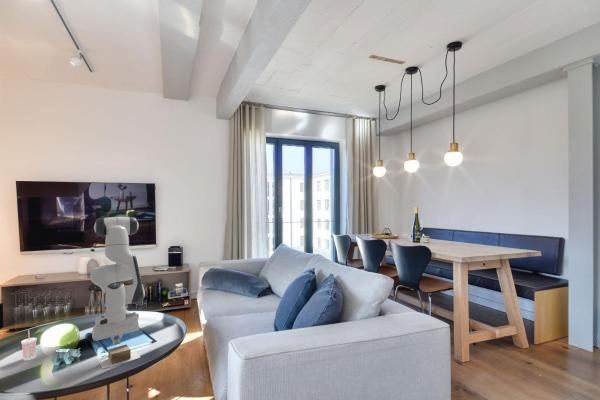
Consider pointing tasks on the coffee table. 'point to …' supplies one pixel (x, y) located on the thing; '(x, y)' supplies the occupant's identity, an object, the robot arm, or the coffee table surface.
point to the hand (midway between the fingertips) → (116, 344)
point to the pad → (108, 364)
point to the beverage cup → (29, 347)
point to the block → (119, 354)
